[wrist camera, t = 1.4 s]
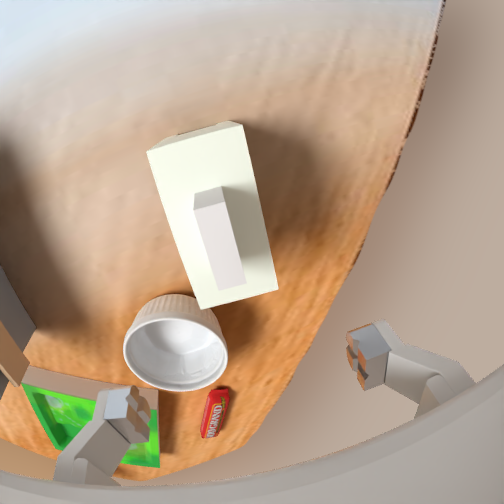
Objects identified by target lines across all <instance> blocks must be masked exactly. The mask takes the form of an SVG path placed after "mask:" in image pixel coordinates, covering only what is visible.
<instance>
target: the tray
mask: <svg viewBox="0 0 504 504" xmlns="http://www.w3.org/2000/svg"><path fill="white" fill-rule="evenodd" d="M21 384H22V386H23V388H24V391H25V393H26V395H27V397H28V399H29V401H30V403H31V405H32V407H33V409H34V411H35V413H36V415H37V417H38V419H39V421H40V422H41V424H42V426H43V428H44V430H45V431H46V433H47V435H48V437H49V438H50V440H51V442H52V443H53V445H54V447H55V448H56V449H58V450H62V451H63V450H64V449H65V448H66V447H67V445H68V444H69V443H70V442H71V441H72V440H73V439H74V437H75V436H76V435H77V434H78V433H79V432H80V431H81V430H82V428H83V427H84V426H85V425H86V424H87V423H88V422H89V421H92V419H93V414H94V410H95V405H96V401H97V397H98V393H99V391H100V390H101V389H106V388H114V387H123V386H126V385H120V384H113V383H107V382H102V381H96V380H91V379H85V378H80V377H76V376H71V375H66V374H62V373H58V372H53V371H49V370H45V369H41V368H37V367H34V366H30V365H29V366H28V368H27V371H26V373H25V375H24V377H23V379H22V382H21ZM137 388H138V390H139V395H140V396H142V397H144V398H145V399H146V400H147V402H148V404H149V406H150V411H151V419H150V421H149V422H148V423H147V425H148V427H149V428H150V436H149V442H145V443H135V444H131V446H130V447H129V449H128V451H127V452H126V454H125V456H124V457H123V459H122V460H121V462H120V463H124V464H131V465H139V466H147V467H156V468H160V438H159V406H158V389H149V388H141V387H137Z"/></svg>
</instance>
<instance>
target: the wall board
mask: <svg viewBox="0 0 504 504" xmlns="http://www.w3.org/2000/svg"><path fill="white" fill-rule="evenodd" d="M35 329H36V326H35V324H34V323H33V321H32V320H31V318H30V317H29V315H28V313H27V312H26V310H25V308H24V307H23V305H22V303H21V302H20V300H19V298H18V296H17V295H16V293H15V291H14V289H13V288H12V286H11V284H10V282H9V280H8V278H7V276H6V274H5V273H4V271H3V269H2V267H1V265H0V400H1V397H2V395H3V393H4V391H5V388H6V386H7V384H8V382H9V381H10V382H11V383H12V384H13V386H14V387H19V386H20V384H21V381H22V379H23V377H24V375H25V372H26V370H27V368H28V366H29V364H30V362H29V361H28V359H27V358H26V357H25V355H24V354H23V351H24V349H25V347H26V346H27V344H28V342H29V340H30V338H31V336H32V334H33V333H34V331H35Z"/></svg>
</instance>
